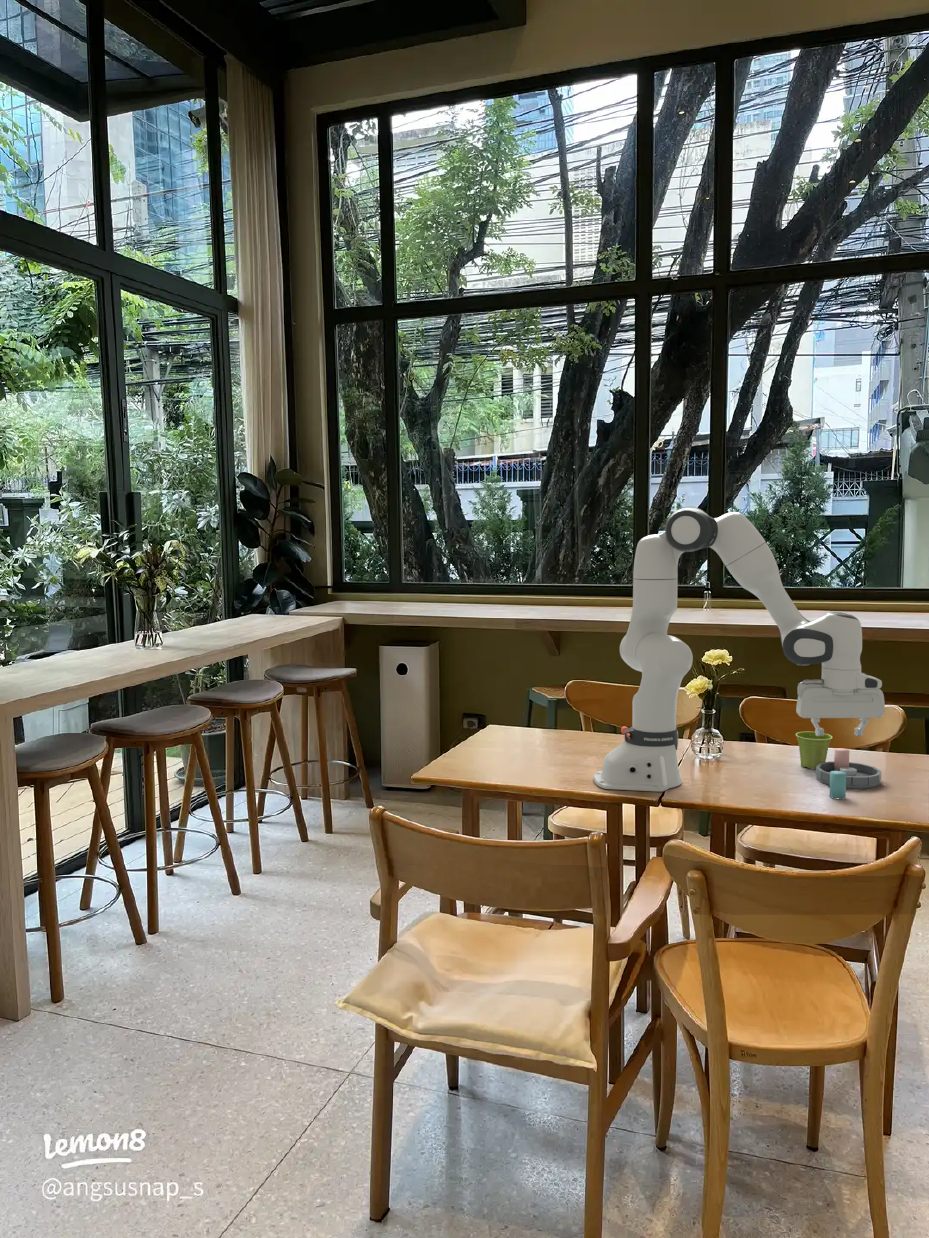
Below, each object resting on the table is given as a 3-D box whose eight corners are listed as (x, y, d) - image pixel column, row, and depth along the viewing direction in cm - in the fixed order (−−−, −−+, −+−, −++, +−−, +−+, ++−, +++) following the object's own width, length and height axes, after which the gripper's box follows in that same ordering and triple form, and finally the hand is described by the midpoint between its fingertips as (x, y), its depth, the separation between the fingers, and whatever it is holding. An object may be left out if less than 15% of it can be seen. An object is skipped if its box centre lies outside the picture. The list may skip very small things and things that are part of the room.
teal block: (832, 799, 220) (833, 774, 219) (827, 794, 223) (827, 770, 223) (847, 799, 220) (848, 774, 219) (842, 794, 223) (842, 770, 223)
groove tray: (829, 789, 228) (829, 777, 228) (807, 772, 243) (808, 761, 243) (890, 788, 227) (891, 777, 227) (865, 772, 243) (865, 761, 242)
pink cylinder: (837, 774, 238) (837, 751, 237) (831, 770, 241) (832, 748, 241) (851, 773, 238) (851, 751, 237) (845, 770, 241) (846, 748, 241)
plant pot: (826, 762, 253) (827, 731, 252) (835, 771, 244) (836, 739, 243) (791, 761, 255) (792, 731, 254) (799, 770, 245) (799, 738, 244)
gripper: (802, 681, 216) (800, 738, 218) (888, 681, 216) (886, 738, 218) (793, 677, 223) (791, 732, 224) (877, 676, 222) (875, 732, 224)
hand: (839, 735), depth 221 cm, fingers open, 8 cm apart
